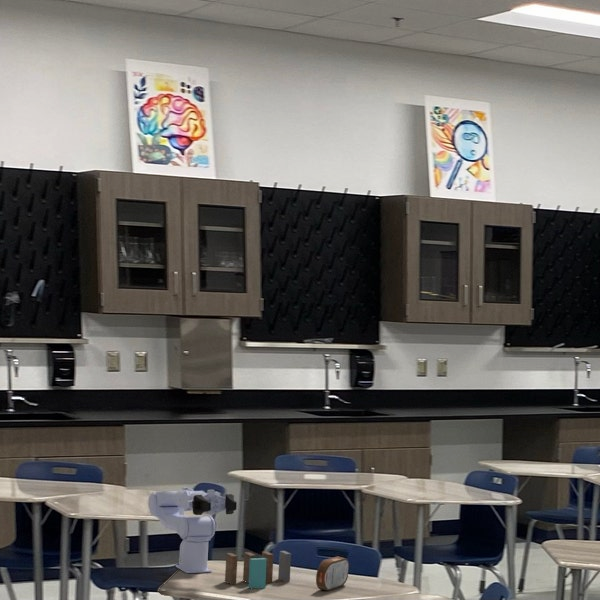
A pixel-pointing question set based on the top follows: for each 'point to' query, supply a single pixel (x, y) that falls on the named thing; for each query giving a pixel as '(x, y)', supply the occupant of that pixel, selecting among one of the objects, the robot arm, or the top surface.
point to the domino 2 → (247, 565)
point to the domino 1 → (231, 568)
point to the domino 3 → (268, 566)
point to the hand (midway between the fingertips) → (222, 506)
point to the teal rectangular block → (257, 573)
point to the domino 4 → (284, 566)
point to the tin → (332, 573)
